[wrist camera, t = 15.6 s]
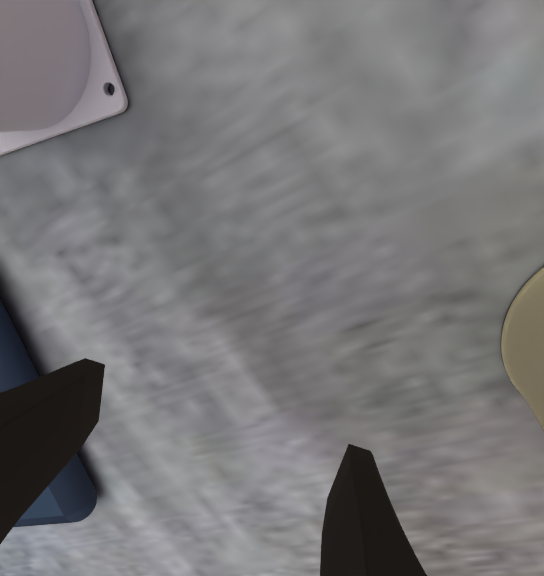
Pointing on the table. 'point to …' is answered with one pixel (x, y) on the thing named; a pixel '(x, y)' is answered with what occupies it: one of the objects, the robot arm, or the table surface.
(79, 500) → the cushion
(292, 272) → the table surface
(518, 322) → the can
